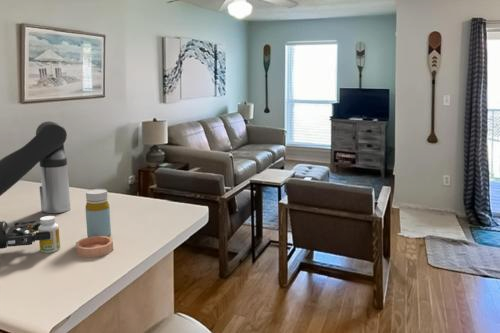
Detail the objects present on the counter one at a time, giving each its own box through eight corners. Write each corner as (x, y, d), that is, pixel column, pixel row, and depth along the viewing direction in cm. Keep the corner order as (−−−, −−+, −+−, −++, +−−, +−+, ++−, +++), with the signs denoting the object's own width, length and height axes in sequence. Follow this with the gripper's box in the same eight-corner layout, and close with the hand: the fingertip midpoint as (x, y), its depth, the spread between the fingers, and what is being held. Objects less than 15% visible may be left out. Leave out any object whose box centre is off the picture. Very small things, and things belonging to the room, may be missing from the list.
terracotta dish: (69, 255, 123) (68, 247, 122) (88, 242, 132) (87, 234, 132) (102, 258, 121) (101, 250, 121) (119, 245, 131) (118, 237, 130)
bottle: (91, 233, 140) (88, 188, 137) (113, 233, 141) (110, 188, 138) (84, 241, 133) (81, 194, 130) (108, 241, 134) (105, 194, 131)
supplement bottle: (53, 244, 131) (51, 213, 129) (64, 248, 128) (61, 217, 126) (36, 250, 126) (33, 218, 124) (46, 254, 123) (44, 222, 121)
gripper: (-6, 240, 128) (54, 234, 133) (-17, 258, 115) (50, 251, 120) (-9, 215, 126) (52, 210, 132) (-20, 231, 113) (48, 225, 119)
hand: (51, 230), depth 126 cm, fingers open, 8 cm apart
